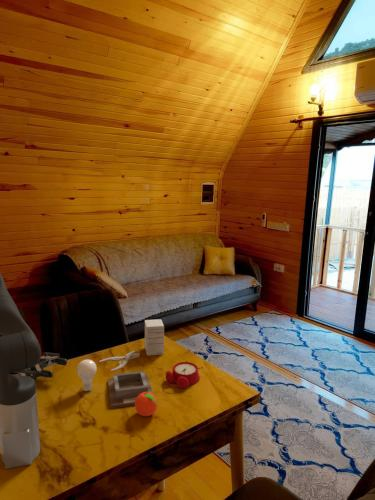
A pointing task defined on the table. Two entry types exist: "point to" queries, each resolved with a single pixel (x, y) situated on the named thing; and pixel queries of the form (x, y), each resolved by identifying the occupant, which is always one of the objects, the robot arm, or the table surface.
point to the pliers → (127, 358)
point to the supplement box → (154, 337)
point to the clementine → (146, 404)
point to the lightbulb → (86, 373)
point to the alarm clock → (183, 374)
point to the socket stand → (127, 388)
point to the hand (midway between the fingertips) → (59, 368)
